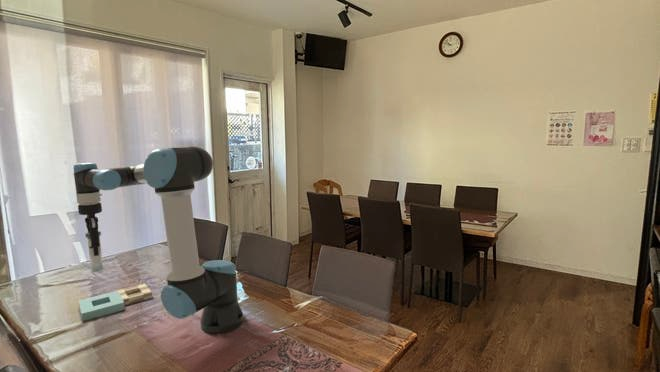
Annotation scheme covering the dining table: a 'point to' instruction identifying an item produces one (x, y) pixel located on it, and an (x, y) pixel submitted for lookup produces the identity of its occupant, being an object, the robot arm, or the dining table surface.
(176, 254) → the robot arm
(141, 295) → the mount
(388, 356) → the dining table surface
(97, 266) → the pin
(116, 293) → the dock
